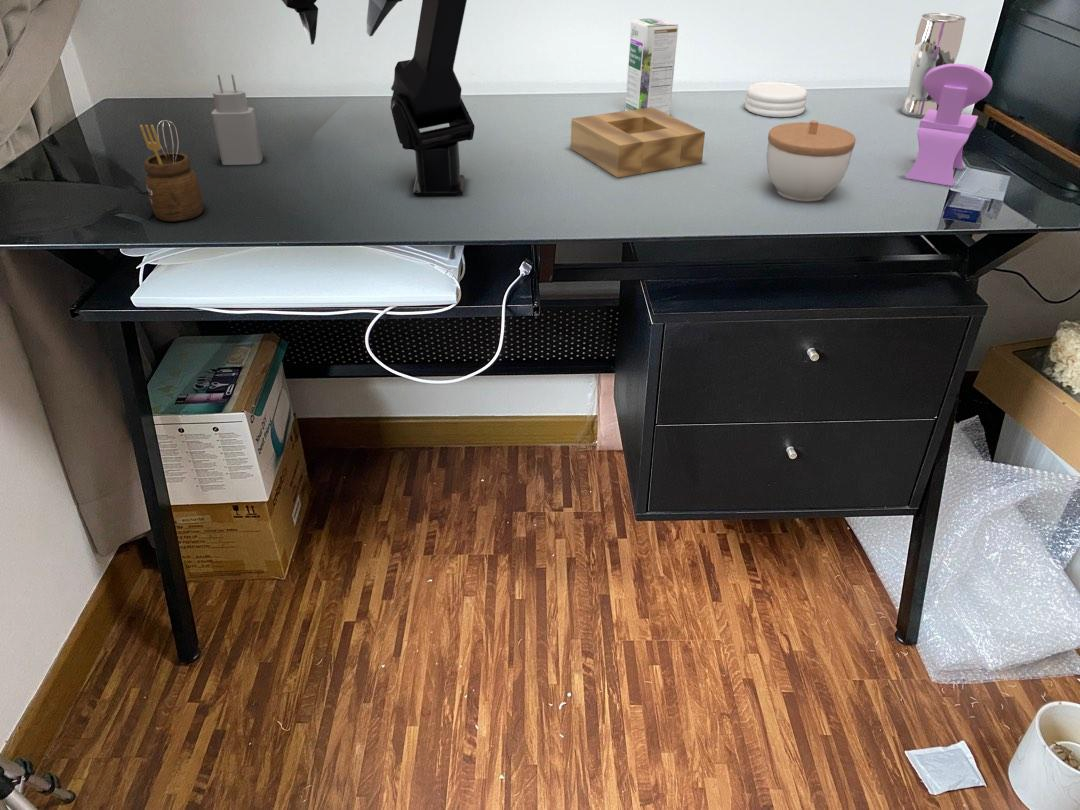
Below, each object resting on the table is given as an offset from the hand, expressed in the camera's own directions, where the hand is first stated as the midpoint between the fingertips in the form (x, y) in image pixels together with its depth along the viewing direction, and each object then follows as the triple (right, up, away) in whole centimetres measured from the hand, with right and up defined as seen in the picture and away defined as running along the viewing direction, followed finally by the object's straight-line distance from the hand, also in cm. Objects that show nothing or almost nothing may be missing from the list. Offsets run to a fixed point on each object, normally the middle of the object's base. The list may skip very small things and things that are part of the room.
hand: (340, 38), depth 123 cm
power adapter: (-14, -18, 0) cm, 23 cm away
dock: (+43, -16, +2) cm, 46 cm away
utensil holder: (-16, -29, -16) cm, 37 cm away
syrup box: (+47, -4, +20) cm, 51 cm away
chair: (+84, -20, -3) cm, 87 cm away
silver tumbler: (+93, -4, +21) cm, 95 cm away
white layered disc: (+69, -3, +23) cm, 72 cm away
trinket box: (+63, -25, -10) cm, 69 cm away
